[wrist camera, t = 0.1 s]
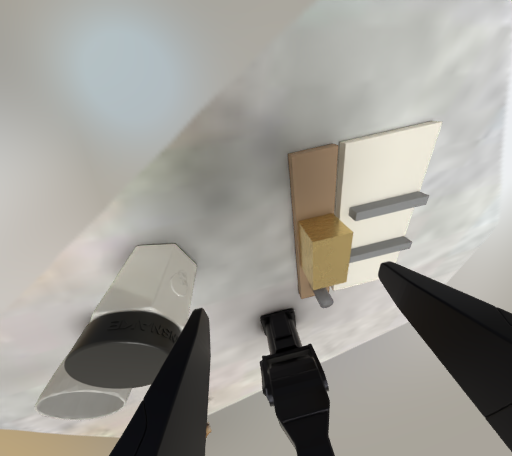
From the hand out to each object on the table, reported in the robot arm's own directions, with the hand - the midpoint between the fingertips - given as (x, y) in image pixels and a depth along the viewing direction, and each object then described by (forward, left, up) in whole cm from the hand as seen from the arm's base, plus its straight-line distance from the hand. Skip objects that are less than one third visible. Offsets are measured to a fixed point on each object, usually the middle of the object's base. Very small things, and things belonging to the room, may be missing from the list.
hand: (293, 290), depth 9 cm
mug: (-19, +27, -15) cm, 36 cm away
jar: (-8, +14, -15) cm, 22 cm away
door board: (-9, -13, -14) cm, 21 cm away
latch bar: (-9, -7, -13) cm, 17 cm away
